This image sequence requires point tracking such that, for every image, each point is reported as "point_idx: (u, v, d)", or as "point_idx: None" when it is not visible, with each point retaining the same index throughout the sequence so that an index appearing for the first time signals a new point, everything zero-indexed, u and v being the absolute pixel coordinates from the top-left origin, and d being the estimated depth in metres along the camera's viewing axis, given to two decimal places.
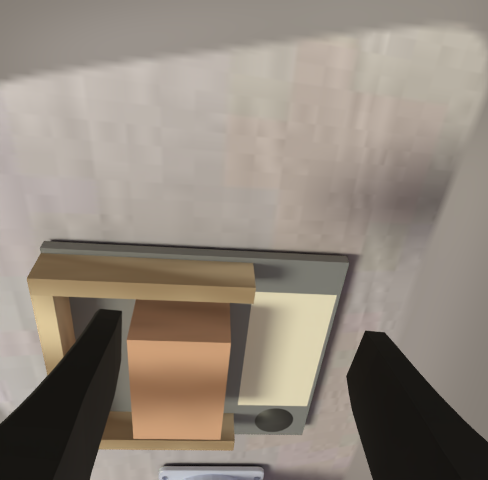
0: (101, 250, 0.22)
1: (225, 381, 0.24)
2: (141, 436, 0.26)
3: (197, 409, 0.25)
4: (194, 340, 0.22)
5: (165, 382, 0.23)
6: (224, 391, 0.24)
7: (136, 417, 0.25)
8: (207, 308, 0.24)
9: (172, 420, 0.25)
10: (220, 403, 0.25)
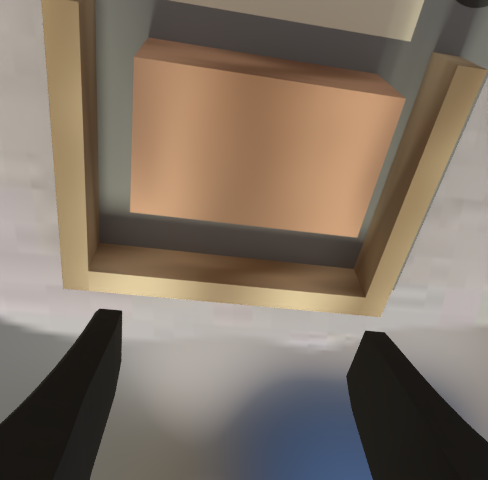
0: None
1: (235, 74, 0.13)
2: (354, 226, 0.16)
3: (304, 131, 0.14)
4: (132, 117, 0.14)
5: (225, 174, 0.15)
6: (262, 79, 0.13)
7: (304, 225, 0.16)
8: None
9: (325, 175, 0.15)
10: (296, 90, 0.13)
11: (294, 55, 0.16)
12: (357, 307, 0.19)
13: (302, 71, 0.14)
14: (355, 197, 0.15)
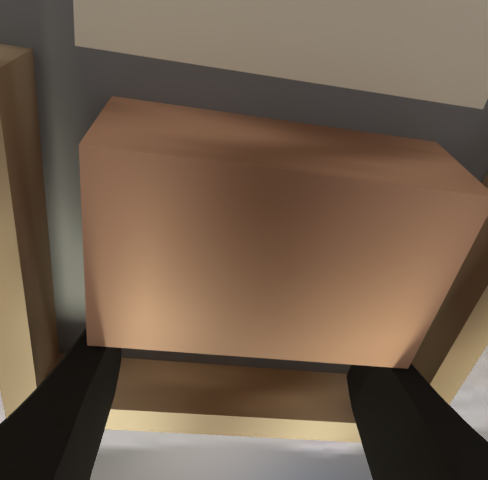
0: None
1: (238, 167, 0.08)
2: (405, 355, 0.11)
3: (341, 242, 0.09)
4: (83, 226, 0.09)
5: (224, 298, 0.10)
6: (280, 173, 0.08)
7: (335, 356, 0.11)
8: None
9: (368, 296, 0.10)
10: (332, 187, 0.09)
11: None
12: None
13: (336, 149, 0.10)
14: (409, 322, 0.11)
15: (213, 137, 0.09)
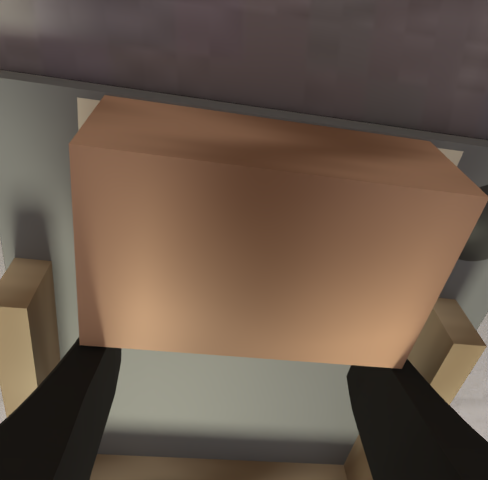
0: None
1: (229, 167, 0.08)
2: (399, 355, 0.11)
3: (334, 242, 0.09)
4: (74, 225, 0.09)
5: (216, 297, 0.10)
6: (272, 173, 0.08)
7: (328, 356, 0.11)
8: None
9: (361, 297, 0.10)
10: (323, 187, 0.09)
11: None
12: None
13: (329, 148, 0.10)
14: (403, 322, 0.11)
15: (205, 137, 0.09)
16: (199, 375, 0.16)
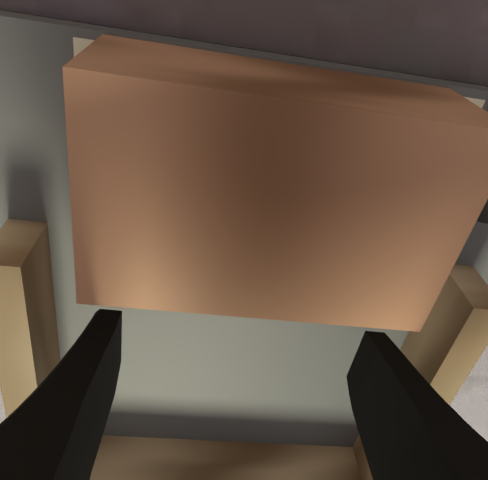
0: None
1: (239, 96, 0.08)
2: (418, 316, 0.11)
3: (351, 185, 0.09)
4: (70, 165, 0.08)
5: (224, 249, 0.09)
6: (285, 103, 0.08)
7: (342, 318, 0.11)
8: None
9: (379, 249, 0.09)
10: (340, 120, 0.08)
11: None
12: None
13: (345, 87, 0.09)
14: (423, 278, 0.10)
15: (211, 70, 0.08)
16: (203, 349, 0.15)
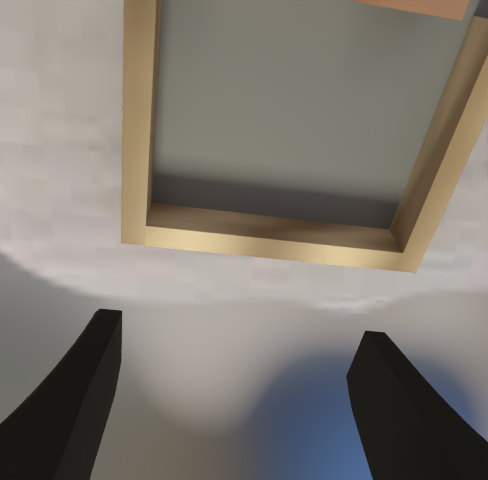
0: None
1: None
2: (460, 3, 0.14)
3: None
4: None
5: None
6: None
7: (403, 1, 0.14)
8: None
9: None
10: None
11: (344, 18, 0.17)
12: (395, 263, 0.21)
13: None
14: None
15: None
16: (273, 106, 0.18)
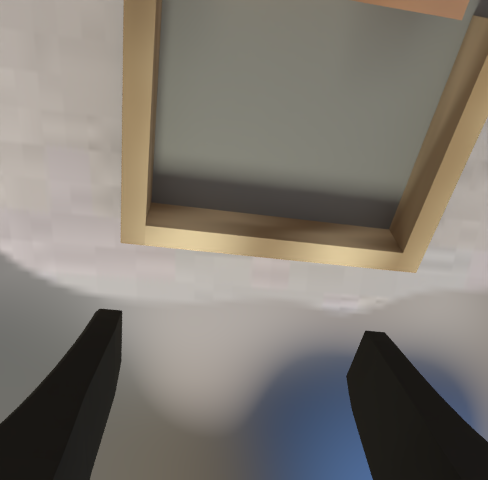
0: None
1: None
2: (461, 2, 0.14)
3: None
4: None
5: None
6: None
7: (404, 1, 0.14)
8: None
9: None
10: None
11: (344, 18, 0.17)
12: (395, 263, 0.21)
13: None
14: None
15: None
16: (273, 106, 0.18)
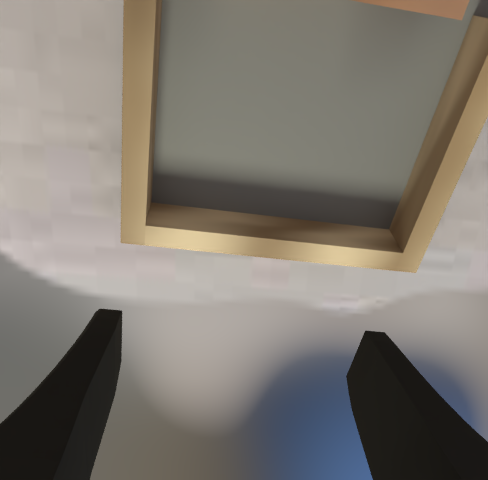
0: None
1: None
2: (461, 2, 0.14)
3: None
4: None
5: None
6: None
7: (404, 1, 0.14)
8: None
9: None
10: None
11: (344, 18, 0.17)
12: (395, 263, 0.21)
13: None
14: None
15: None
16: (273, 106, 0.18)
